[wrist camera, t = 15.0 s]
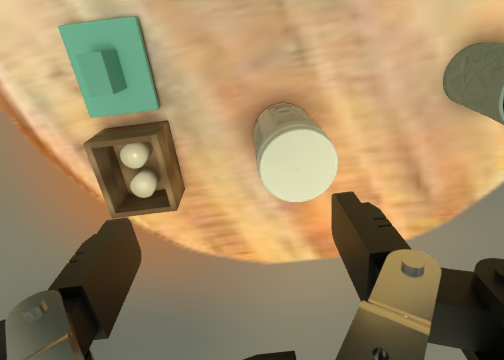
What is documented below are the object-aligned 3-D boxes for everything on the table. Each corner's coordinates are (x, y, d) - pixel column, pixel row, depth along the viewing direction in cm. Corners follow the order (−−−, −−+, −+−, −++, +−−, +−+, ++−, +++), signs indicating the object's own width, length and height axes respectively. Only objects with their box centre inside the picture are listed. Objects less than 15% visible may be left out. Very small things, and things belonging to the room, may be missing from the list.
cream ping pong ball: (126, 138, 46) (116, 147, 43) (148, 135, 46) (141, 143, 43) (133, 159, 48) (124, 170, 44) (155, 156, 48) (148, 166, 44)
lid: (66, 26, 40) (33, 24, 34) (139, 16, 40) (120, 13, 34) (96, 114, 46) (73, 127, 39) (161, 106, 46) (148, 118, 39)
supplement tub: (283, 170, 51) (299, 218, 38) (240, 136, 48) (239, 175, 35) (325, 127, 48) (357, 163, 34) (280, 87, 45) (297, 110, 32)
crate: (104, 128, 47) (83, 143, 40) (168, 120, 46) (156, 134, 40) (127, 195, 52) (112, 218, 46) (184, 188, 52) (177, 210, 45)
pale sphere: (135, 167, 49) (127, 178, 45) (157, 164, 49) (150, 175, 45) (141, 187, 50) (134, 198, 47) (162, 184, 50) (156, 196, 47)
